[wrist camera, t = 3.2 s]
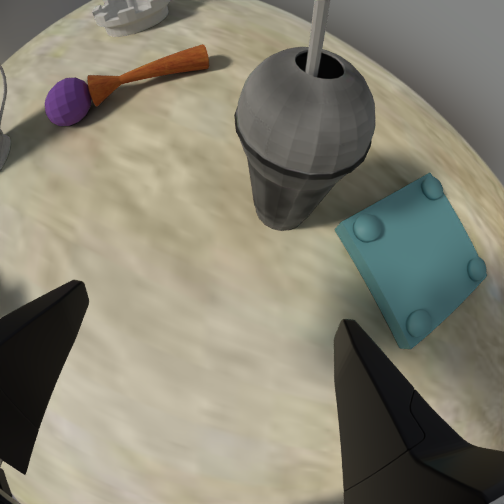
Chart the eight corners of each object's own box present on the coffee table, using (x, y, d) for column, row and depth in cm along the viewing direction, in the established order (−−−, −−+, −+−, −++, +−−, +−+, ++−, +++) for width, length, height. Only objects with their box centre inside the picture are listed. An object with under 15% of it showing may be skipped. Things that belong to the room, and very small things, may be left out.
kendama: (213, 56, 25) (36, 119, 21) (210, 87, 31) (57, 141, 27) (199, 25, 25) (38, 82, 22) (198, 57, 31) (56, 106, 27)
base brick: (475, 279, 23) (492, 274, 21) (399, 348, 22) (416, 349, 19) (420, 181, 26) (433, 168, 23) (334, 229, 24) (344, 218, 22)
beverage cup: (337, 202, 25) (458, 11, 6) (289, 264, 24) (418, 60, 4) (273, 155, 26) (305, -57, 7) (221, 210, 25) (177, -28, 5)
